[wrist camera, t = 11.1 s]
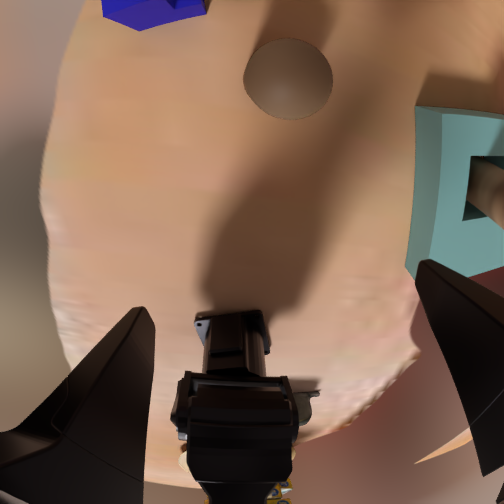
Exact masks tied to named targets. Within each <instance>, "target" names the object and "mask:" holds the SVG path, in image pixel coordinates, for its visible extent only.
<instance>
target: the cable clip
mask: <svg viewBox="0 0 504 504" xmlns="http://www.w3.org/2000/svg"><path fill="white" fill-rule="evenodd" d="M101 1H102V10H103V17H105V18H108V19H111V20H113V21H116V22H118V23H121V24H123V25H126V26H128V27H130V28H133V29H135V30H137V31H142V30H145V29H149V28H152V27H155V26H159V25H162V24H166V23H170V22H174V21H178V20H182V19H186V18H191V17H195V16H200V15H205V14H206V8H205V2H204V0H101Z"/></svg>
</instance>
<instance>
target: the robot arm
mask: <svg viewBox="0 0 504 504" xmlns="http://www.w3.org/2000/svg"><path fill="white" fill-rule="evenodd" d="M415 286H416V289H417V292H418V294H419V297H420V299H421V302H422V305H423V307H424V310H425V313H426V316H427V319H428V321H429V324H430V326H431V328H432V331H433V333H434V335H435V337H436V339H437V342H438V344H439V346H440V348H441V351H442V353H443V355H444V358H445V360H446V363H447V365H448V368H449V370H450V372H451V375H452V378H453V380H454V383H455V386H456V388H457V391H458V394H459V396H460V399H461V402H462V405H463V408H464V411H465V414H466V417H467V420H468V423H469V426H470V430H471V434H472V437H473V440H474V444H475V448H476V452H477V456H478V459H479V464H480V468H481V472H482V475H483V477H484V476H486V475H488V474H490V473H492V472H493V471H495V470H497V469H498V468H500V467H502V466H504V298H503V297H502V296H500V295H498V294H496V293H495V292H493V291H491V290H489V289H487V288H485V287H484V286H482V285H480V284H478V283H477V282H475V281H473V280H471V279H469V278H467V277H465V276H464V275H462V274H460V273H458V272H456V271H454V270H452V269H450V268H448V267H446V266H444V265H442V264H440V263H438V262H436V261H434V260H432V259H425V260H421V261H420V262H419V263H418V268H417V273H416V277H415ZM255 315H258V316H255ZM194 326H195V328H196V330H197V333H198V335H199V337H200V339H201V341H202V344H203V346H204V355H203V368H202V373H194V372H192V371H185V375H184V378H182V380H180V381H178V386H177V394H176V399H175V402H174V405H173V408H172V412H171V417H170V420H171V421H172V423H173V424H174V425H175V426H176V431H177V432H178V438H179V440H184V441H187V454H186V462H187V465H188V467H189V470H190V472H191V474H192V476H193V477H194V479H195V481H196V482H198V483H199V484H200V486H201V487H202V489H203V490H204V492H205V493H206V494H207V496H208V497H209V500H208V504H267V497H268V496H269V495H270V494H271V492H272V491H273V490H274V488H275V487H276V486H277V484H278V483H280V482H286V481H287V479H288V477H289V475H290V474H291V472H292V443H294V442H295V441H296V439H297V436H298V430H299V414H298V409H297V405H296V402H295V399H294V396H293V393H292V390H291V387H290V384H289V381H288V378H287V376H280V377H266V368H265V357H264V355H268V354H269V353H270V348H269V343H268V338H267V333H266V328H265V324H264V319H263V314H262V312H261V311H260V310H253V311H247V312H240V313H233V314H225V315H218V316H210V317H202V318H196V319H195V321H194ZM154 354H155V325H154V322H153V320H152V318H151V317H150V315H149V313H148V311H147V309H146V308H145V307H143V306H140V307H133V308H132V309H131V310H130V311H129V312H128V313H127V314H126V315H125V316H124V317H123V318H122V319H121V320H120V321H119V322H118V323H117V324H116V325H115V326H114V327H113V328H112V329H111V330H110V331H109V332H108V333H107V334H106V335H105V336H104V337H103V338H102V340H101V341H100V342H99V343H98V344H97V345H96V346H95V347H94V348H93V349H92V350H91V351H90V352H89V353H88V354H87V355H86V356H85V358H84V359H83V360H82V361H81V362H80V363H79V364H78V365H77V366H76V367H75V368H74V369H73V370H72V372H71V373H70V374H69V375H68V377H66V378H65V379H64V380H63V381H62V383H61V384H60V385H59V386H58V387H57V388H56V389H55V390H54V391H53V392H52V393H51V395H49V396H48V397H47V398H46V399H45V400H44V401H43V402H42V403H41V404H40V405H39V406H38V407H37V408H36V409H35V410H34V411H33V412H32V413H31V414H30V415H29V416H28V417H27V418H26V419H25V420H24V421H23V422H22V423H21V424H20V425H18V426H17V427H16V428H13V429H11V430H9V431H5V432H0V504H143V488H144V483H143V481H144V465H145V450H146V437H147V426H148V416H149V407H150V398H151V390H152V382H153V374H154ZM496 503H497V504H504V483H503V486H502V488H501V490H500V493H499V495H498V497H497V500H496Z"/></svg>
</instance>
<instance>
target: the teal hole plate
mask: <svg viewBox="0 0 504 504" xmlns="http://www.w3.org/2000/svg"><path fill="white" fill-rule="evenodd" d="M415 123H416V157H415V182H414V197H413V208H412V219H411V228H410V236H409V243H408V250H407V257H406V263H405V267H406V269H407V270H408V272H409V273H410V274H411V276H412V277H413V279H414V280H415V277H416V273H417V268H418V263H419V262H420V261H421V260H425V259H432V260H434V261H436V262H438V263H440V264H442V265H444V266H446V267H448V268H450V269H452V270H454V271H456V272H458V273H460V274H462V275H464V276H465V277H470V276H473V275H476V274H480V273H483V272H486V271H489V270H492V269H495V268H498V267H501V266H504V230H503V229H502V228H501V227H500V226H499V225H498V224H496V223H495V222H494V221H493V220H492V219H490V218H489V217H488V216H487V215H485V214H484V213H483V212H482V211H480V210H479V209H478V208H476V207H475V206H474V205H473V204H471V203H470V202H469V201H467V200H466V194H467V187H468V178H469V169H470V157H471V156H484V159H485V160H487V161H489V162H490V163H492V164H494V165H496V166H498V167H499V168H501V169H503V170H504V115H503V114H497V113H490V112H483V111H475V110H466V109H456V108H444V107H428V106H415Z"/></svg>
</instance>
